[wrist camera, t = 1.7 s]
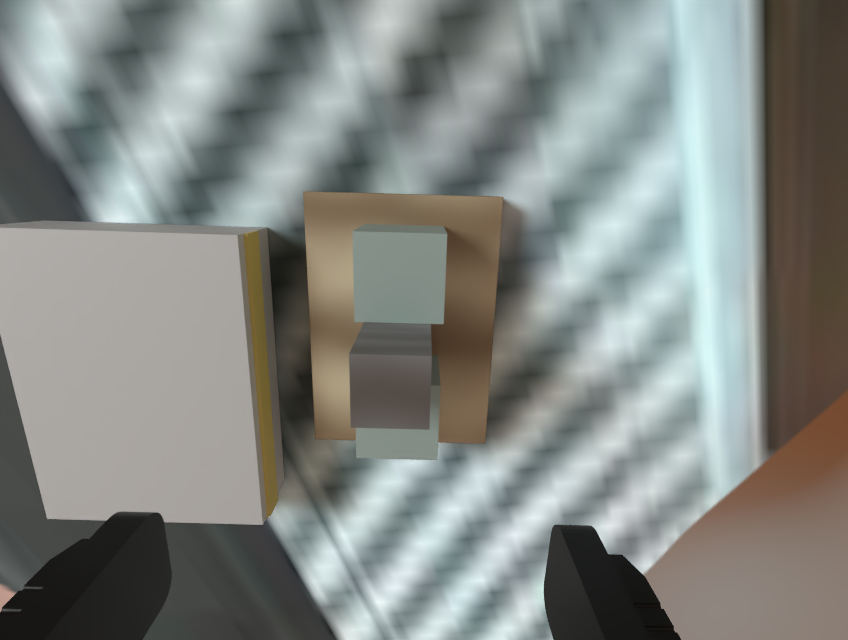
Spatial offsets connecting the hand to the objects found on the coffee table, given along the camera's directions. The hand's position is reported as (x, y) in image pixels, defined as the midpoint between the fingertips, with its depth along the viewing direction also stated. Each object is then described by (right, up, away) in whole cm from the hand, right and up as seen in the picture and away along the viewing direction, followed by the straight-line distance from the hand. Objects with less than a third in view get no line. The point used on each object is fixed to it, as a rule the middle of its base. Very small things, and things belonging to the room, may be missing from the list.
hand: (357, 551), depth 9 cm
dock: (-13, +2, +17) cm, 22 cm away
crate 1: (0, +8, +14) cm, 16 cm away
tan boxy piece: (0, +5, +17) cm, 18 cm away
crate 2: (0, +1, +16) cm, 16 cm away
